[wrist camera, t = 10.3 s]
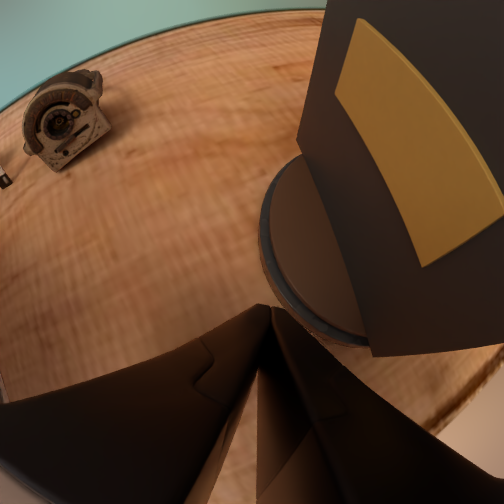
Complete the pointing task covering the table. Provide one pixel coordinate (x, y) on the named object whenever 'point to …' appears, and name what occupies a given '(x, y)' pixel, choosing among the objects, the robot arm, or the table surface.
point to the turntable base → (283, 288)
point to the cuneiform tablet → (4, 179)
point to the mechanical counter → (64, 117)
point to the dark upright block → (400, 177)
